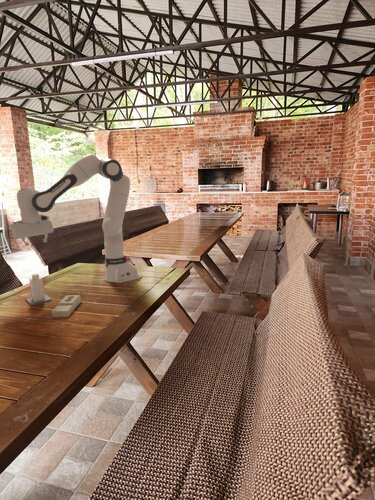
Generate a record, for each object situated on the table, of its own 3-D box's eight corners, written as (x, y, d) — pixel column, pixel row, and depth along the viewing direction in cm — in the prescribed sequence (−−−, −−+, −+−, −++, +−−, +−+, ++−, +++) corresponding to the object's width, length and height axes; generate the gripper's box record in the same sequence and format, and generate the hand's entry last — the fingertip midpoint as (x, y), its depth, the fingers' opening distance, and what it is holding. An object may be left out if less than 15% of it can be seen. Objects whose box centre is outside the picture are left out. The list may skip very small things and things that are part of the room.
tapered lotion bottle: (42, 296, 166) (39, 272, 163) (45, 298, 162) (41, 274, 159) (32, 298, 163) (28, 274, 160) (34, 301, 159) (31, 276, 156)
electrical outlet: (51, 309, 141) (66, 294, 159) (52, 317, 142) (67, 302, 160) (67, 309, 141) (80, 294, 159) (68, 317, 142) (81, 302, 160)
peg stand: (45, 295, 169) (44, 281, 168) (51, 300, 162) (49, 286, 160) (25, 300, 163) (23, 285, 162) (30, 305, 156) (28, 290, 154)
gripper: (10, 222, 160) (16, 248, 163) (51, 215, 172) (56, 240, 175) (8, 222, 165) (14, 247, 168) (48, 215, 177) (53, 239, 180)
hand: (36, 243), depth 172 cm, fingers open, 8 cm apart
